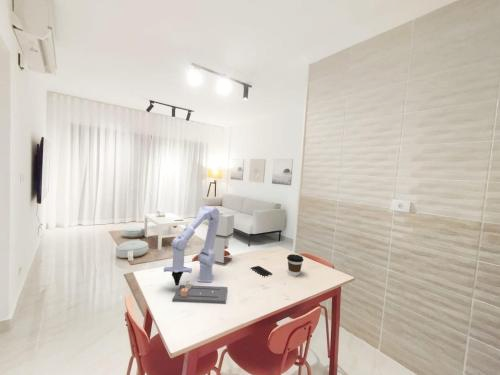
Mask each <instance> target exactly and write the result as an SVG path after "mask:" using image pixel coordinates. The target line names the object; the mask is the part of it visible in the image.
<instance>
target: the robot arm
mask: <svg viewBox="0 0 500 375" xmlns="http://www.w3.org/2000/svg"><path fill="white" fill-rule="evenodd" d="M219 213H221V212H220V210H219V209H218V208H217V207H212V206H208V205H204V206H202V207H201V209H200V210H199V213H198V215H197V216H196V217H195V219H194V220H193V221H192V222H191V224H190V225H189V226H186V227H184V228H183V230H182V231H181V233H180V234H178V236H176V237H175V238H173V240H172V241H171V243H170V244H171V247H172V253H173V254H172V266H165V267H164V268H163V273H165V272H171V276H172V278H173V280H174V284H175V285H174V286H176V287H179V286H180V285H179V284H180V281H181V278H182V276H183V274H184V273H189V274H191V273H192V272H193V268H192V267H186V266H185V265H184V264H185V249H186V248H187V246H188V243H189V240H191V239H192V237H193V236H194V234H196V232H195V230H196V229H197V228H199V226H200V225H201V224H202V223H203V222H204V221H208V223H209V224H208V228H207V231H206V237H205V241H204V247H203V248H202V249H200V252H199V254H198V255H197V260H198V262H199V264H200V265H199V277H198V279H197V282H201V283H211V282H212V281H213V277H214V274H213V266H214V265H215V264H214V263H215V252H214V250H213V247H214V242H215V237H216V232H217V228H218V223H219Z"/></svg>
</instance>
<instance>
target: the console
mask: <svg viewBox="0 0 500 375" xmlns="http://www.w3.org/2000/svg"><path fill="white" fill-rule="evenodd" d="M182 288H185V284H180V285H178V288H177V289H176V292H175V293H174V295H173V297H172V302H175V303H176V302H177V303H197V304H198V303H199V304H200V303H201V304H220V305H222V304H223V305H224V304H225V305H226V303H227V295H228V289H229V287H228V286H215V285H214V286H211V285H210V286H209V285H207V286H206V285H193V284H192V287H191V289H188V295H187V297H181V290H182Z"/></svg>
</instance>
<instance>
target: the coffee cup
mask: <svg viewBox="0 0 500 375" xmlns="http://www.w3.org/2000/svg"><path fill="white" fill-rule="evenodd" d="M286 259H287V266H288V274H289V275H290V276H291V275H292V277H299V276H298V275H300V272H301V270H302V269H301V268H302V265H303V262H304V258H303V256H301V255H299V254H296V253H295V254H293V253H292V254H288V255H287V257H286Z"/></svg>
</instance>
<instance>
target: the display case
mask: <svg viewBox="0 0 500 375" xmlns="http://www.w3.org/2000/svg"><path fill="white" fill-rule="evenodd" d="M234 223H235V214H234V213H233V214H229V215H223V212H220V213H219V223H218V228H217V232H216V237H215V242H214V247H213V250H214V252H215V263H214V264H213V265H218V266H223V267H225V266H227V265H228V264H229V263H230V262H232V260H233V258H232V257H229V256H225V250H227V249H229V243H230V242H229V240H230V239H233V238H234V225H235V224H234Z"/></svg>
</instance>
